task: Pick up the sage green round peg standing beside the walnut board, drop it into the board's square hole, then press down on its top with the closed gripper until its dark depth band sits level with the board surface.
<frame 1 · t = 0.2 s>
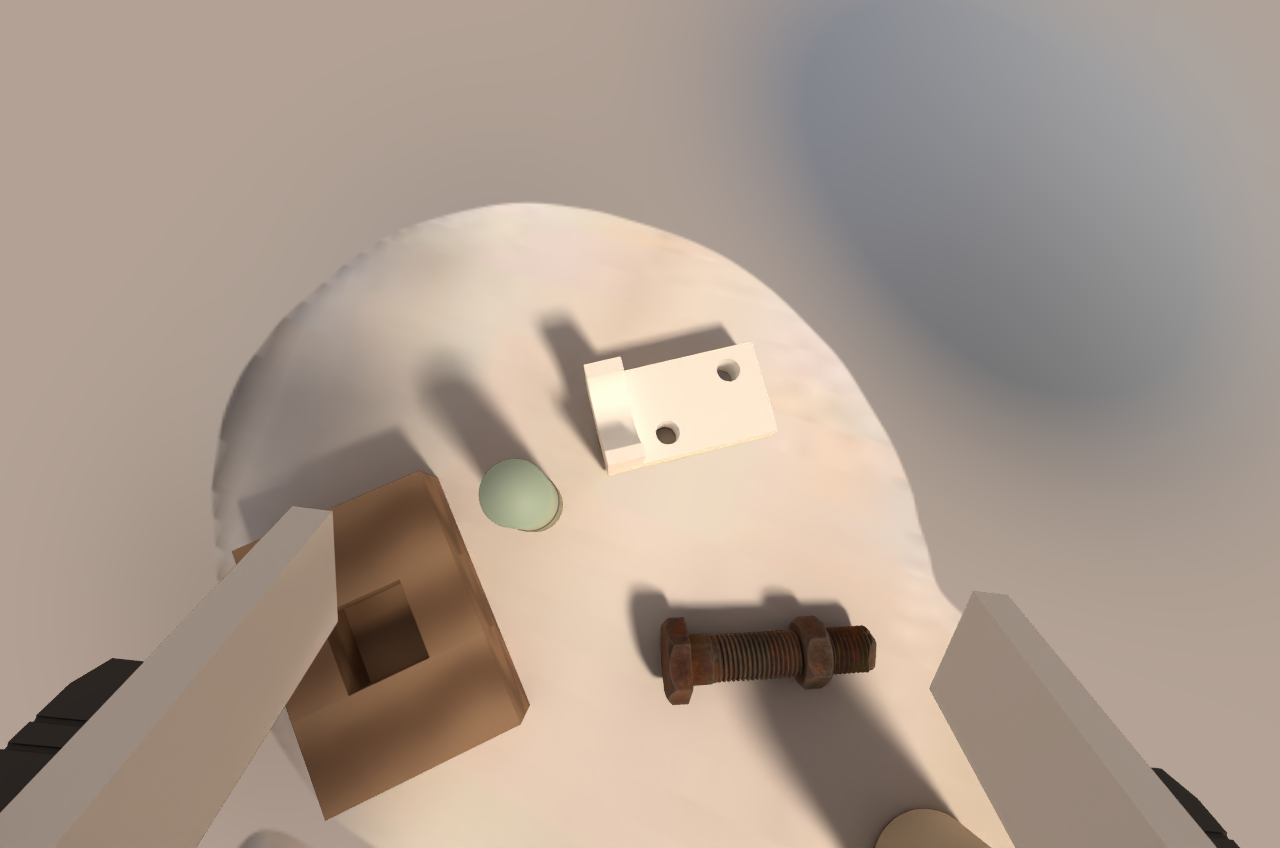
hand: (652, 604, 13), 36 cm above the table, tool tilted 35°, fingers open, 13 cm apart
bolt: (760, 650, 48), on the table
bracket: (676, 414, 51), on the table
board: (399, 626, 46), on the table
peg: (536, 505, 48), on the table
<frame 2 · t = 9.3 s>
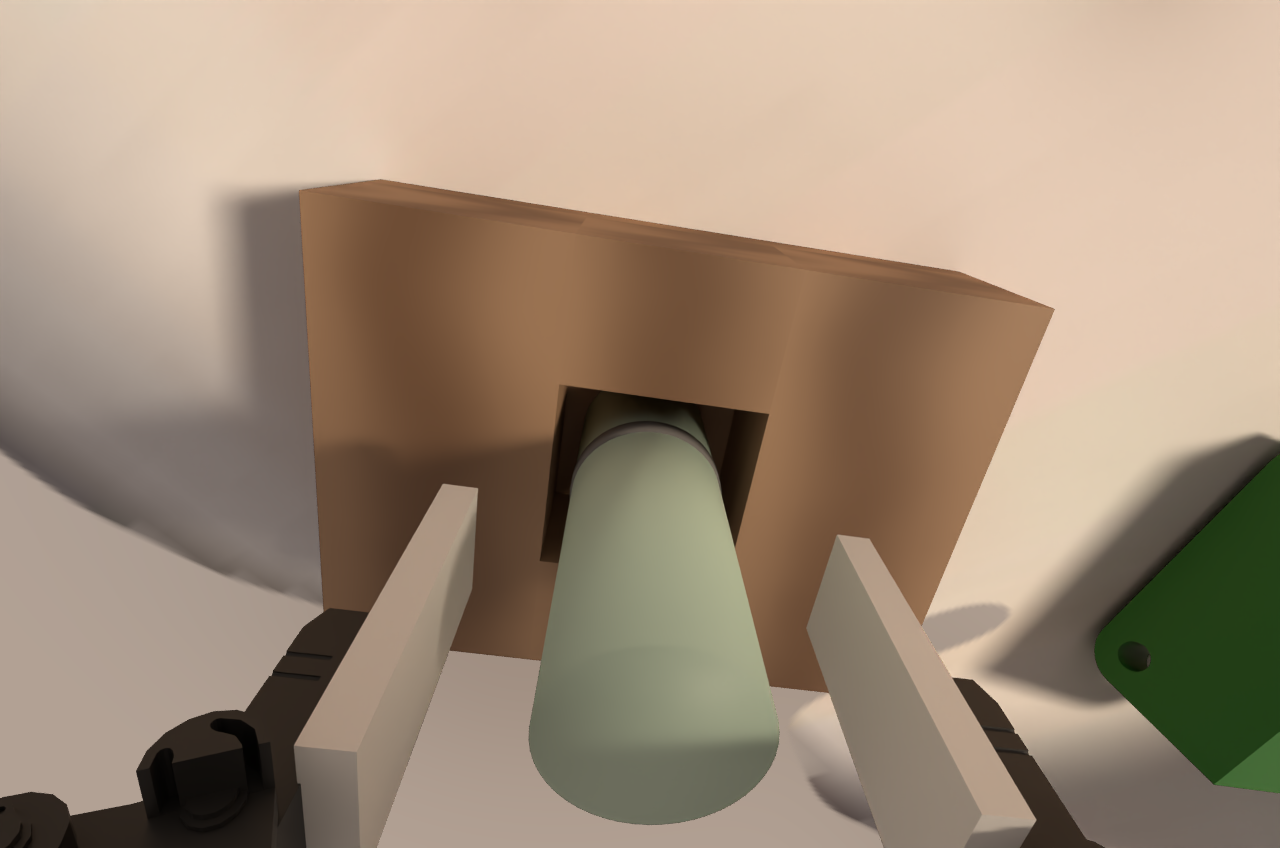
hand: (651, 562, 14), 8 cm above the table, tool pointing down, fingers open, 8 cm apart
board: (645, 419, 22), on the table
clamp: (1233, 573, 25), on the table
peg: (643, 431, 21), point 1 cm above the table, touching board
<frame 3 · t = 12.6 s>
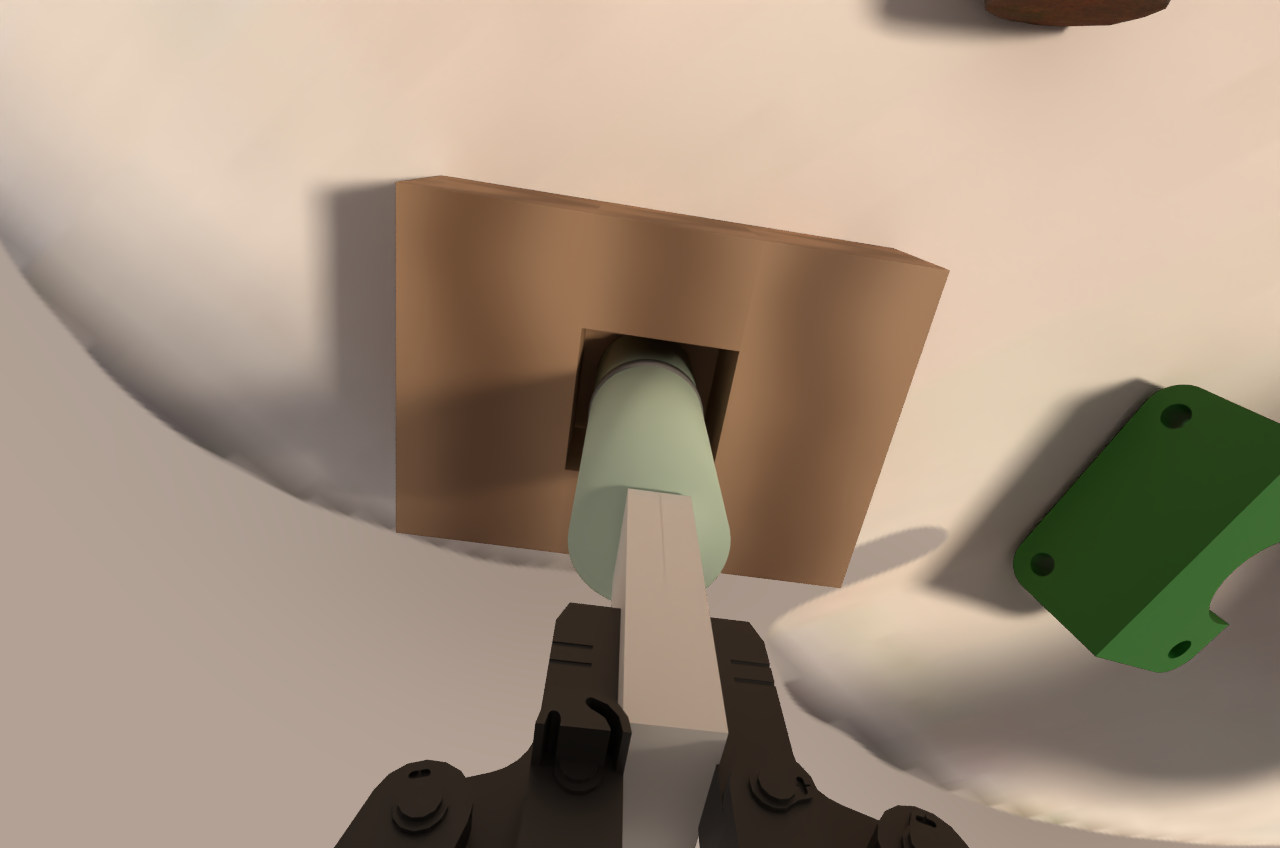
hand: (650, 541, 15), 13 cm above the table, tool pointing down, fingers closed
board: (646, 368, 27), on the table
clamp: (1128, 498, 31), on the table
peg: (644, 376, 27), point 1 cm above the table, touching board, gripper
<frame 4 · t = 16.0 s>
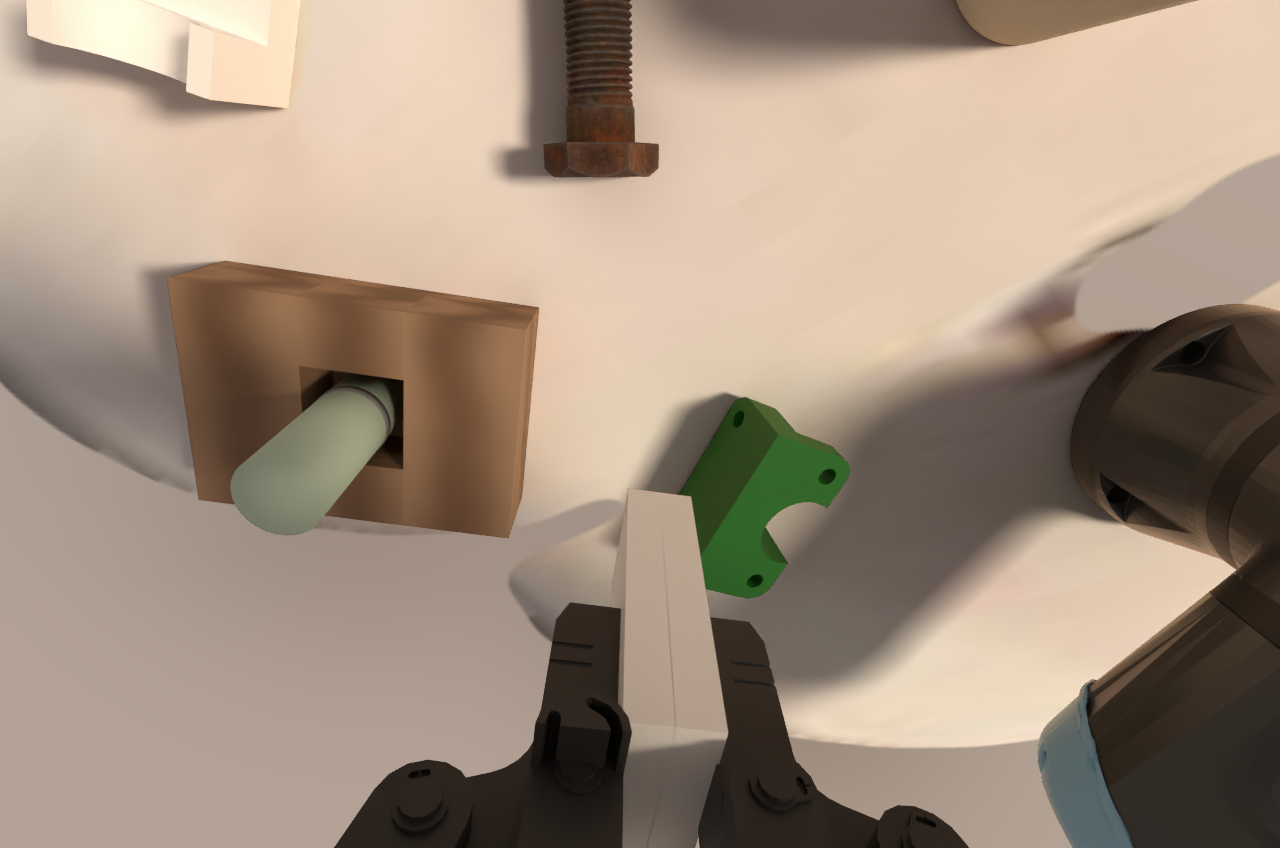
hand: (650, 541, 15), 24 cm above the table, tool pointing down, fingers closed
bolt: (603, 16, 32), on the table
board: (385, 388, 40), on the table
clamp: (744, 477, 43), on the table
peg: (378, 394, 39), point 1 cm above the table, touching board
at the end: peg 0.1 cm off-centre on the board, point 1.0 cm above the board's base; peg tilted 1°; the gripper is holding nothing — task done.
